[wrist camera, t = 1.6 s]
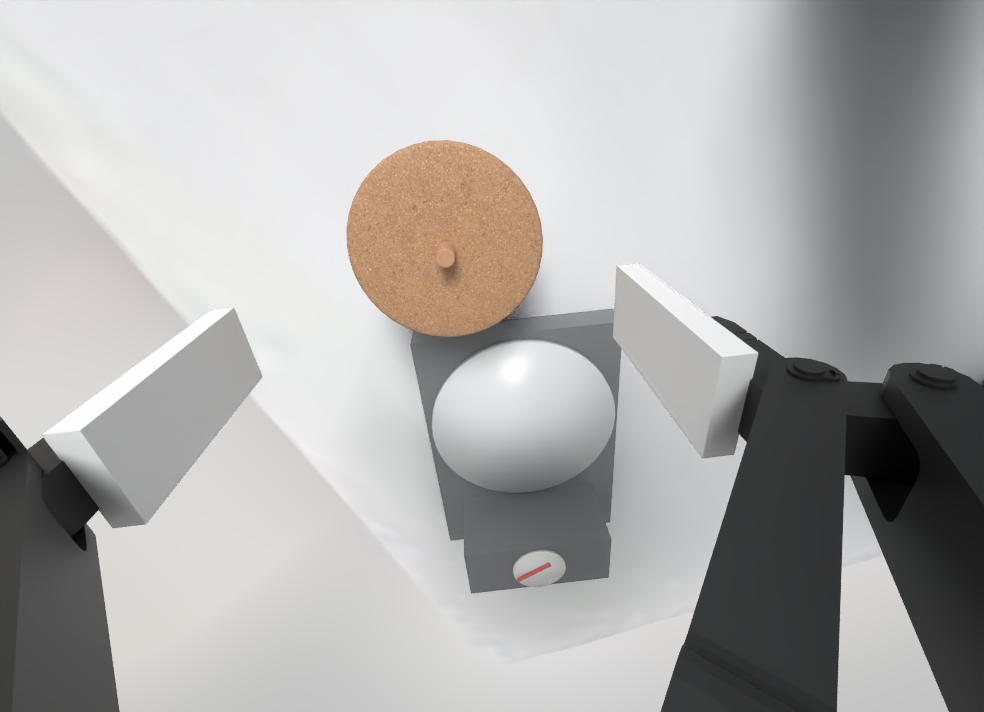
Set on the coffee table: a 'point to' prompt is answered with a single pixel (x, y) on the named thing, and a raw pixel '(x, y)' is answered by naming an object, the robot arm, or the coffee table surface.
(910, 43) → the coffee table surface
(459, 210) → the lidded jar
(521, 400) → the scale
